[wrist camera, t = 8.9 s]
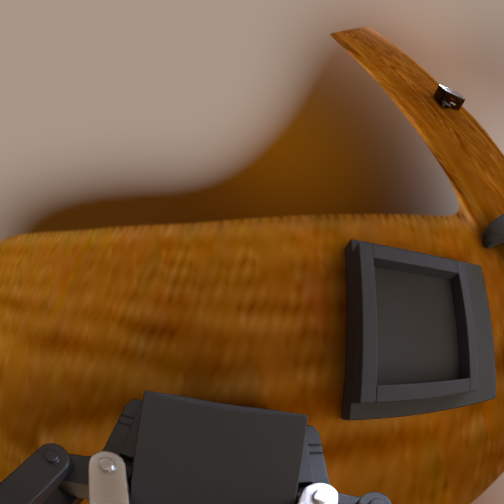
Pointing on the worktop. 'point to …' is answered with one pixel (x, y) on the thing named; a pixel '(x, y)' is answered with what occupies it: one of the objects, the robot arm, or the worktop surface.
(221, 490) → the dark grey rectangular block
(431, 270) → the pad
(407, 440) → the worktop surface
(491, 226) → the game controller
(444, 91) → the wireless earbuds
